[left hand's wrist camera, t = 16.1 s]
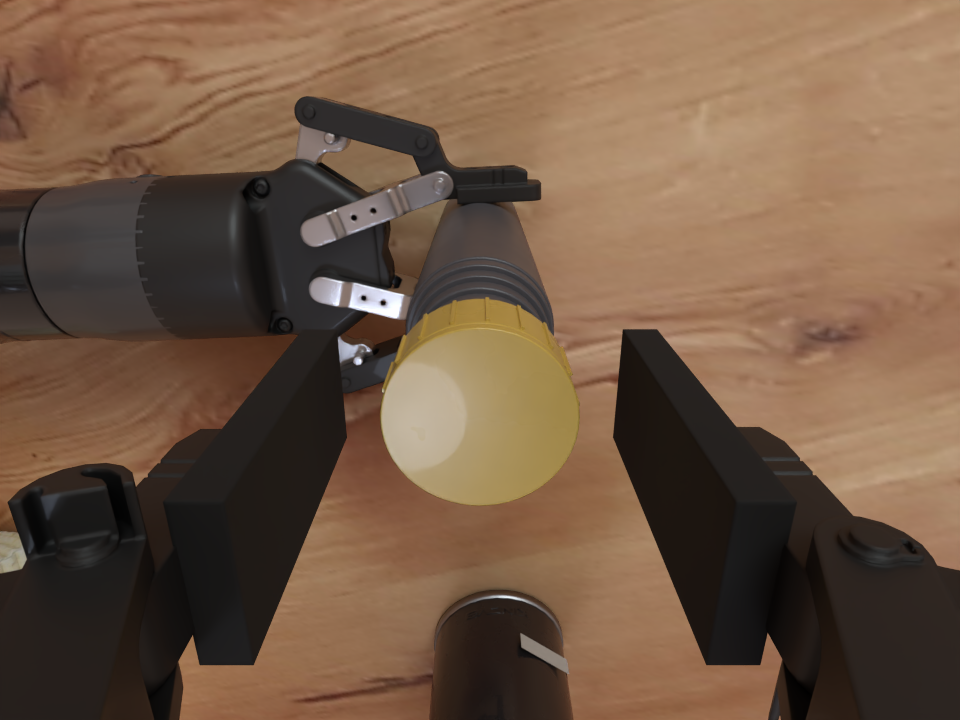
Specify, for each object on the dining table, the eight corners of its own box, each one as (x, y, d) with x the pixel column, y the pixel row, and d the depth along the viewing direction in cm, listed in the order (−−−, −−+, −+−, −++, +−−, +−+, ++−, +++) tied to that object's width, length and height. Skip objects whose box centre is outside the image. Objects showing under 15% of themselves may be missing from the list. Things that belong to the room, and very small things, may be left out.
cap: (389, 453, 15) (376, 502, 13) (393, 288, 14) (379, 316, 12) (556, 464, 15) (567, 514, 13) (579, 302, 14) (595, 333, 12)
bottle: (461, 170, 34) (429, 277, 12) (531, 206, 34) (620, 368, 13) (429, 241, 35) (346, 452, 13) (496, 273, 36) (522, 524, 14)
